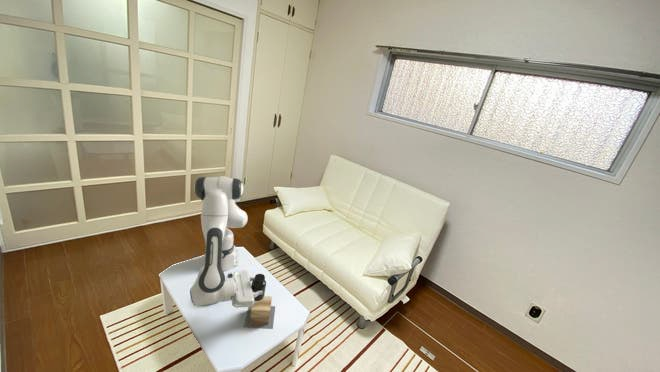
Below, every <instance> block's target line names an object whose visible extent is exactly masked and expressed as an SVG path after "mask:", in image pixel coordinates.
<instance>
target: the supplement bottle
mask: <svg viewBox="0 0 660 372" xmlns="http://www.w3.org/2000/svg"><path fill="white" fill-rule="evenodd" d="M254 277H255V278H254V280H253V281H251V287H252V292H255V293H256V292H258V290H259V289H262V291H263V293H262V294H260V295H258V296H257V297H255V298H254V301H260V300H262V299H263V298H264V296H265V294H266V289H267V288H266V286H267V280H266V276H265V274H262V273H256V274H255V276H254Z"/></svg>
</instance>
